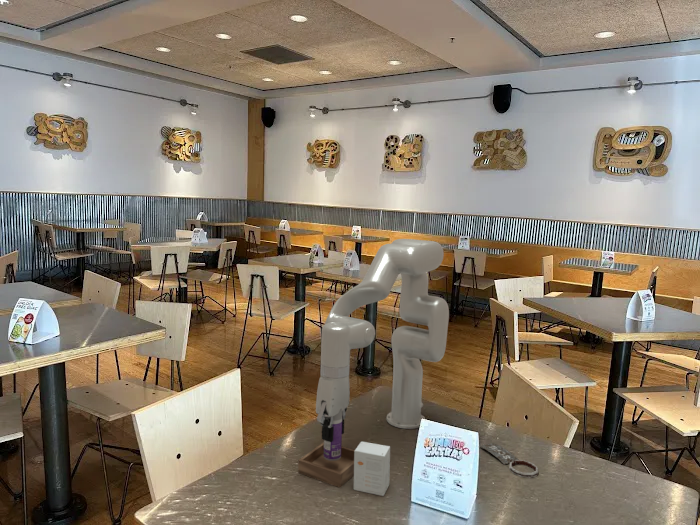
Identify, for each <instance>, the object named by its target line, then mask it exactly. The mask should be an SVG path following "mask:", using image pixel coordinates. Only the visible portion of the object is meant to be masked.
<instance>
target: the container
mask: <svg viewBox="0 0 700 525" xmlns="http://www.w3.org/2000/svg"><path fill="white" fill-rule="evenodd" d="M326 414H328V413H327V412H326ZM326 419H327V420H328V421H329V417H326ZM332 427H334V431H333V441H332V442H329V441H326V440H323V442H324V458H325V459H326V460H329V461H336V460H339V459H340V458H341V446H342V438H343V436H342V435H343V434H342V408H341V409H340V411H339V413H338V414H336V415H335V416H334V417H333V424H332Z"/></svg>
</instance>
